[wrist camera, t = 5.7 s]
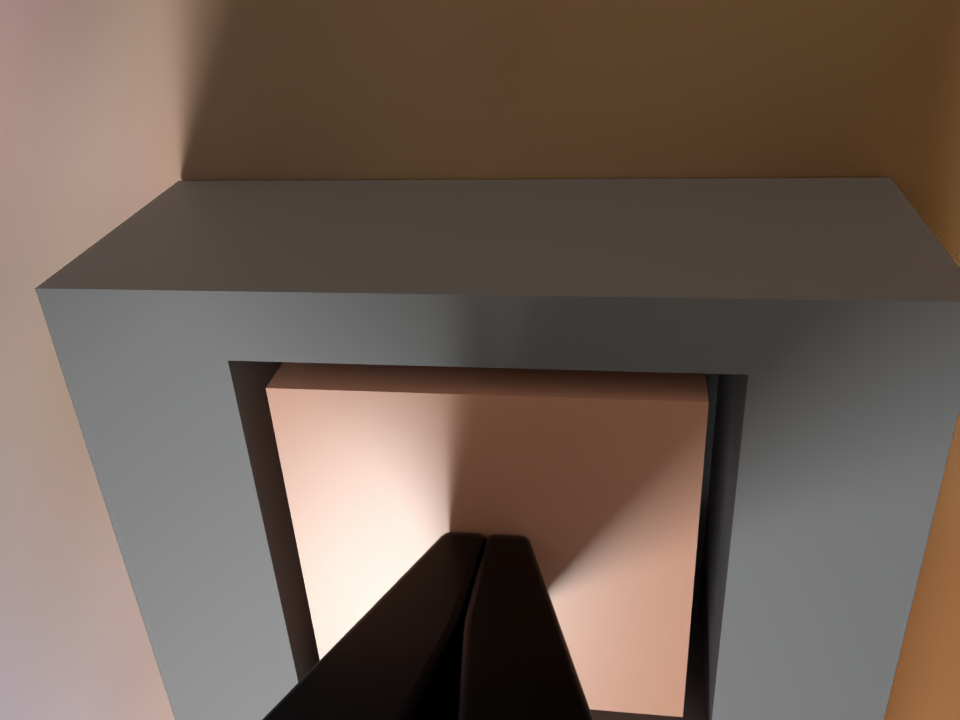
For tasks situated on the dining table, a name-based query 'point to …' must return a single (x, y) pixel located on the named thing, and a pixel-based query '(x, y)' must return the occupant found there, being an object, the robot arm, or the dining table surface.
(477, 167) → the dining table surface
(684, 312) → the button panel
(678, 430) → the terracotta button
